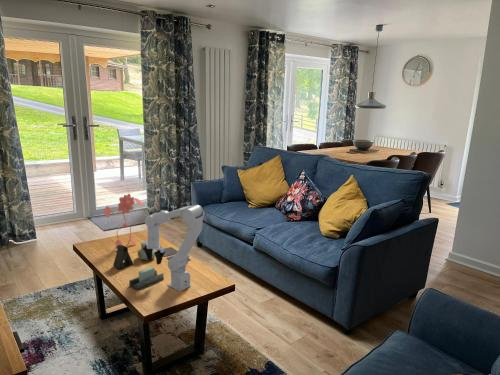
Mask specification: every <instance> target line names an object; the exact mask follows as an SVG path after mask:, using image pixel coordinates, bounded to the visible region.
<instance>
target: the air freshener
mask: <svg viewBox="0 0 500 375" xmlns="http://www.w3.org/2000/svg"><path fill="white" fill-rule="evenodd" d="M146 241H147V242H148V240H142V242H141V243H140V246H141V248H140V249H139V251H138V250H137V256H138V258H139V259H140V260H143V261H148V259H147V256H146V253H145V251H144V250H143V247H145V246H144V242H146ZM154 252H156V250H155V249H153V251H152V259H154V258H156V256H155V254H154Z"/></svg>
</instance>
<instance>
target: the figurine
mask: <svg viewBox="0 0 500 375" xmlns="http://www.w3.org/2000/svg"><path fill="white" fill-rule="evenodd" d="M118 201H119V203H118V204H117V206H118V208H117V212H116V213H114V212H113V210H111V208H110V207H109V206H108V205H106V206H105V208H104V210H103V211H104V212H103V213H104V216H105V217H106V218H109V217H110V216H111V214H112V215H113V216H115V215H117V214H119V213H121V212H122V213H121V214H122V215H123V218H124V223H123V226H122V227H121V228H119V229H117V230H116V237H117V240H115V249H117V246H118V245H120V244H121V245H123V244H122V242H121V240H120V239H119V233H118V231H120V230H121V229H123V228H128V227H129V231H130V232H129V233H130V235H129V236H128V238H129V240H128V241H127V245H129V244H130V242H131V243H132V244H134V245H136V241H135V238H134V237H132V229H131V228H132V227H131V226H130V225H129V224H128V223H127V221H126V216H125V214H129V213H130V211H132V210H134V204H135V202H136V203H137V204H138V205H139V206H141V207H145V206H144V204H143V202H142V201H141V200H140V199H139V198H135V197H134V196H131V194H130V193H128V194H124V195H123V196H122V197H119V199H118ZM139 250H140V249H139ZM139 250H137V252H138V251H139ZM106 251H108V250H107V249H106ZM131 253H134V252H133V251H132V252H131Z"/></svg>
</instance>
